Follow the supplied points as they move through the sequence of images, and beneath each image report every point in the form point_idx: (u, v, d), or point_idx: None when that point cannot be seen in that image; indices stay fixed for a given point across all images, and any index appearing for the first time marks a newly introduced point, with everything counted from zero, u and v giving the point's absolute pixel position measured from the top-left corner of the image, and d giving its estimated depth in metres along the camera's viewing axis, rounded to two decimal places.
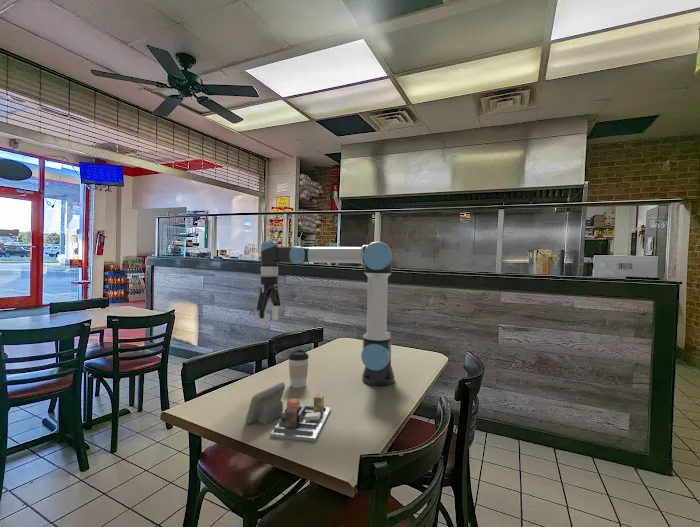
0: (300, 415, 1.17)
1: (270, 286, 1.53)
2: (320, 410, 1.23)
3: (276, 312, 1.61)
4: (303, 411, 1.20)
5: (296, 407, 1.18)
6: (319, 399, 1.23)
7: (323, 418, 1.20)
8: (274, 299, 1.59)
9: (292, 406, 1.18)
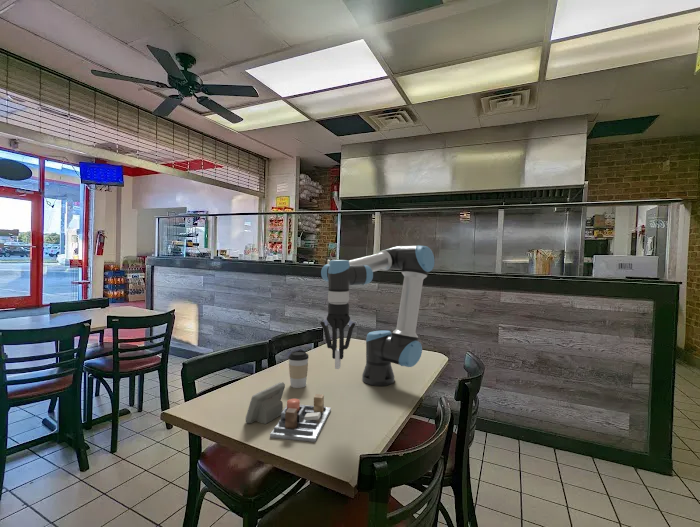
0: (300, 415, 1.17)
1: (334, 315, 1.22)
2: (320, 410, 1.23)
3: None
4: (303, 411, 1.20)
5: (296, 407, 1.18)
6: (319, 399, 1.23)
7: (323, 418, 1.20)
8: None
9: (292, 406, 1.18)
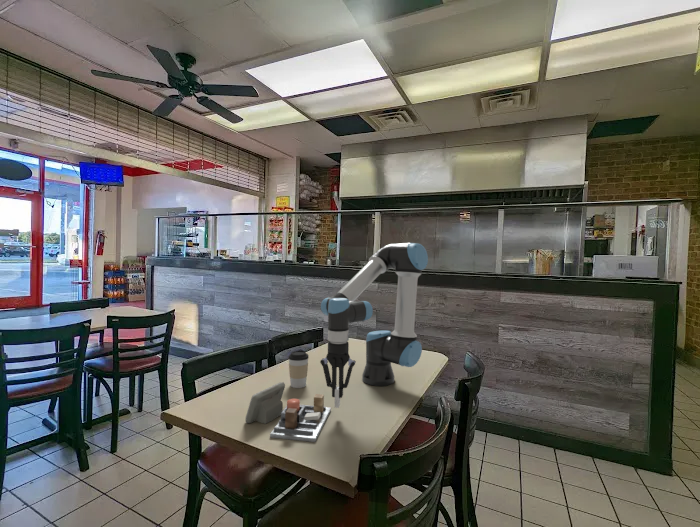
0: (300, 415, 1.17)
1: (333, 354, 1.22)
2: (320, 410, 1.23)
3: None
4: (303, 411, 1.20)
5: (296, 407, 1.18)
6: (319, 399, 1.23)
7: (323, 418, 1.20)
8: (339, 375, 1.23)
9: (292, 406, 1.18)
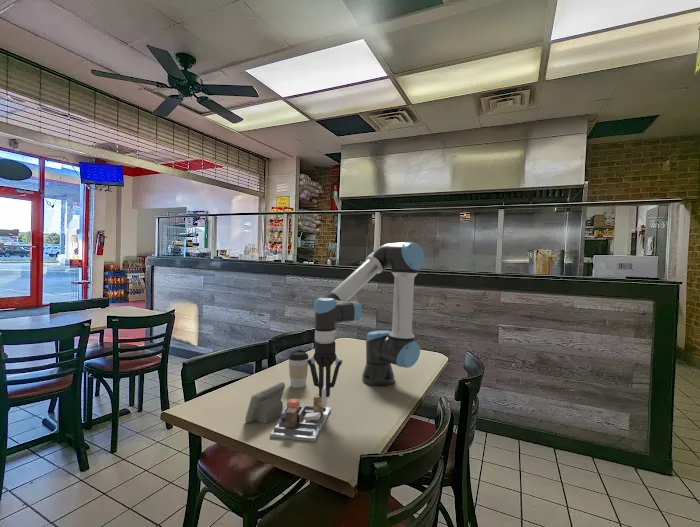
0: (300, 415, 1.17)
1: (320, 353, 1.23)
2: (320, 410, 1.23)
3: None
4: (303, 411, 1.20)
5: (296, 407, 1.18)
6: (318, 399, 1.23)
7: (323, 418, 1.20)
8: None
9: (292, 406, 1.18)
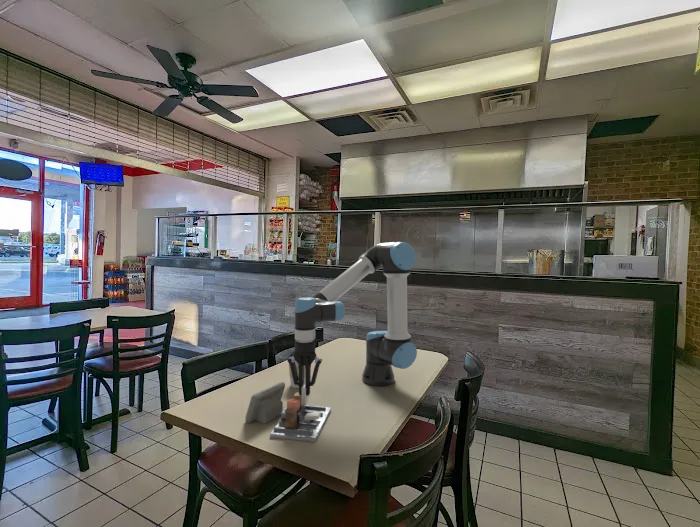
0: (300, 415, 1.17)
1: (300, 352, 1.24)
2: None
3: None
4: (303, 411, 1.20)
5: (296, 407, 1.18)
6: (298, 398, 1.25)
7: (323, 418, 1.20)
8: None
9: (292, 406, 1.18)
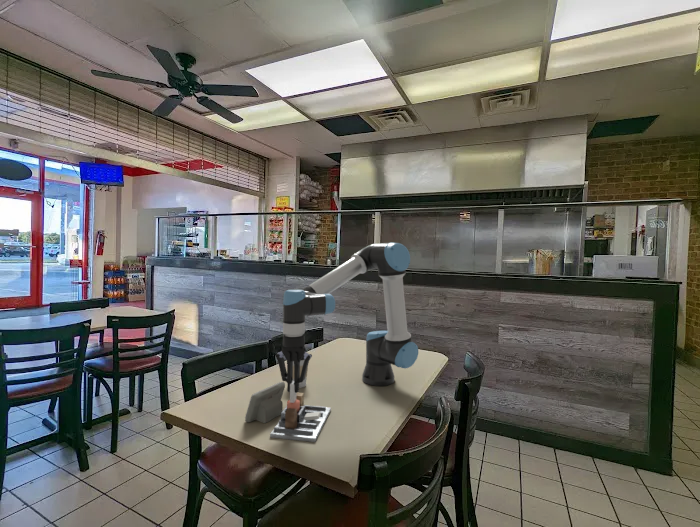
0: (300, 415, 1.17)
1: (289, 347, 1.18)
2: None
3: None
4: (303, 411, 1.20)
5: (296, 408, 1.18)
6: (298, 398, 1.25)
7: (323, 418, 1.20)
8: None
9: (292, 407, 1.18)
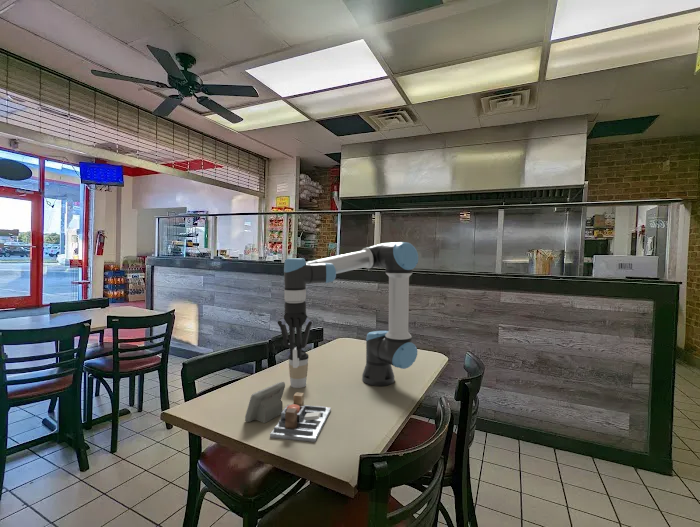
0: (300, 415, 1.17)
1: (290, 314, 1.21)
2: None
3: None
4: (303, 411, 1.20)
5: None
6: (298, 398, 1.25)
7: (323, 418, 1.20)
8: None
9: None
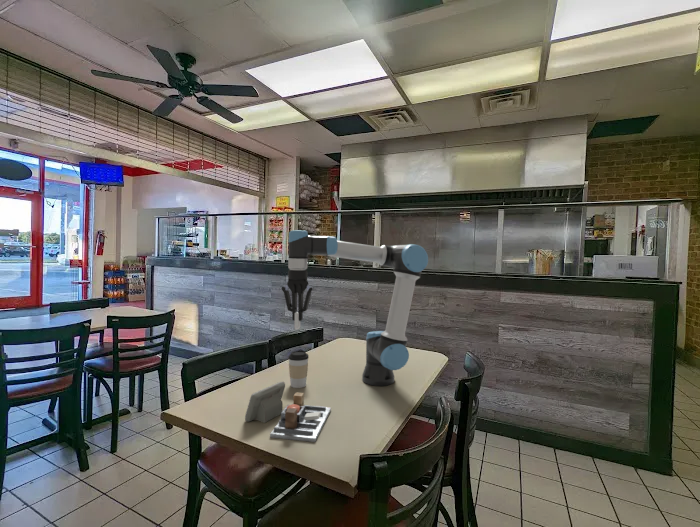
0: (300, 415, 1.17)
1: (293, 280, 1.34)
2: None
3: None
4: (303, 411, 1.20)
5: None
6: (298, 398, 1.25)
7: (323, 418, 1.20)
8: None
9: None
